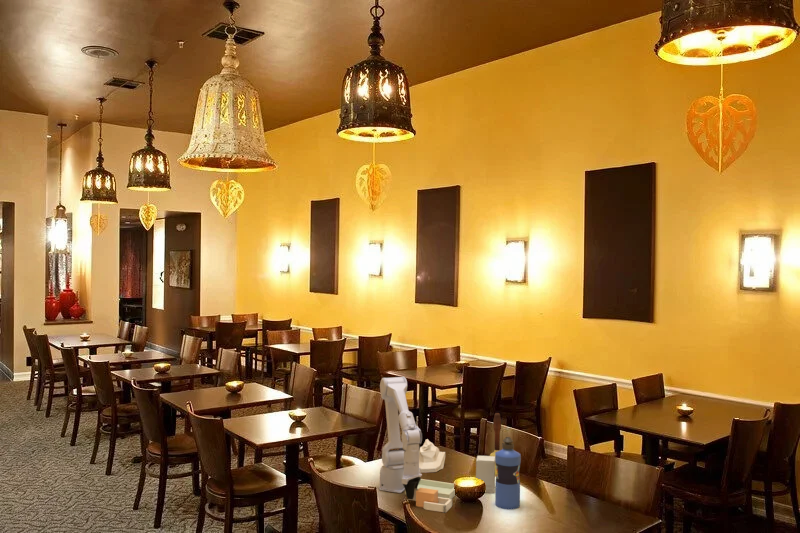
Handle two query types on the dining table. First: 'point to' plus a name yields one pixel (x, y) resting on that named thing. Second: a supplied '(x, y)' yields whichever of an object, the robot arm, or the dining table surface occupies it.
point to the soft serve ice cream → (430, 458)
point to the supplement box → (486, 471)
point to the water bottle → (507, 476)
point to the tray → (438, 488)
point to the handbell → (496, 435)
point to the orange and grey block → (425, 496)
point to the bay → (439, 505)
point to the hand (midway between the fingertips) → (411, 497)
